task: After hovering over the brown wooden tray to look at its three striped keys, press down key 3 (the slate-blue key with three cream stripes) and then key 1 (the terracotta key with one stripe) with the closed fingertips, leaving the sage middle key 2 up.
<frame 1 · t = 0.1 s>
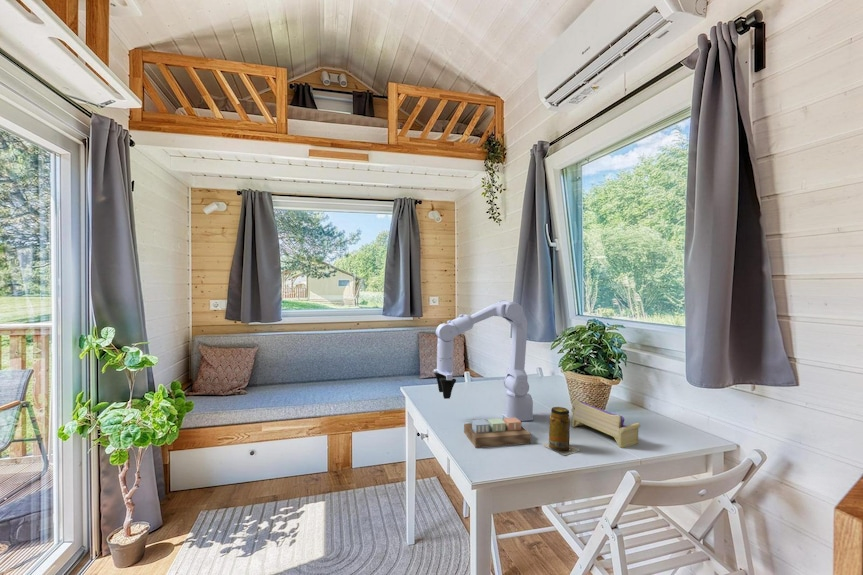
hand: (444, 395, 143), 10 cm above the table, fingers open, 7 cm apart
condiment: (560, 448, 124), on the table
brown wooden tray: (496, 437, 131), on the table
sage key: (496, 426, 131), point 4 cm above the table, slide at 0.0 cm
toy sofa: (603, 435, 135), on the table
slate key: (480, 427, 129), point 4 cm above the table, slide at 0.0 cm
terracotta key: (512, 425, 132), point 4 cm above the table, slide at 0.0 cm
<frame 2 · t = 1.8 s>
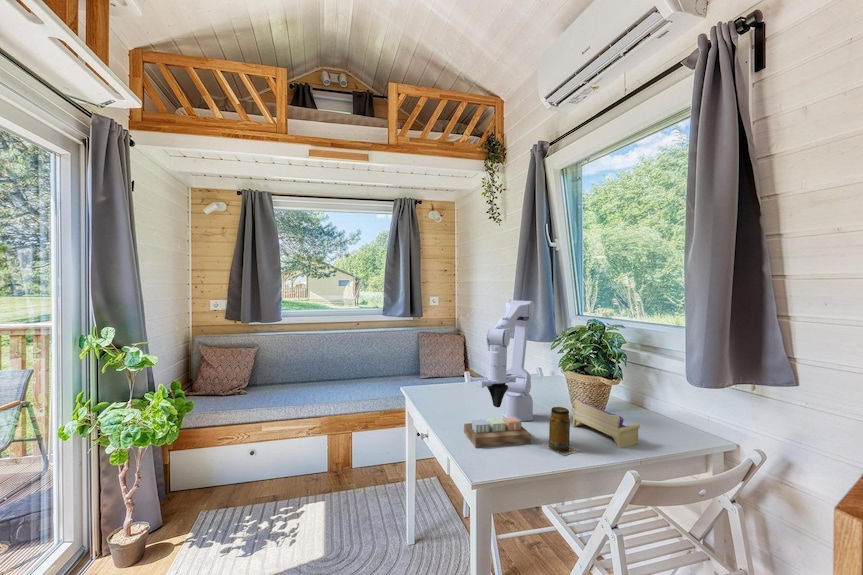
hand: (496, 406, 130), 10 cm above the table, fingers closed
nothing on the table moved.
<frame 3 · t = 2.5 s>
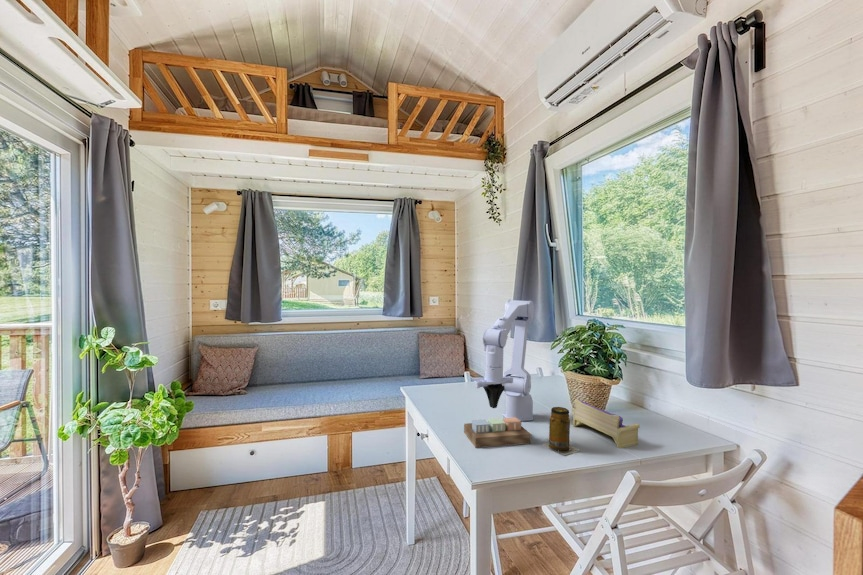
hand: (493, 407, 130), 10 cm above the table, fingers closed
nothing on the table moved.
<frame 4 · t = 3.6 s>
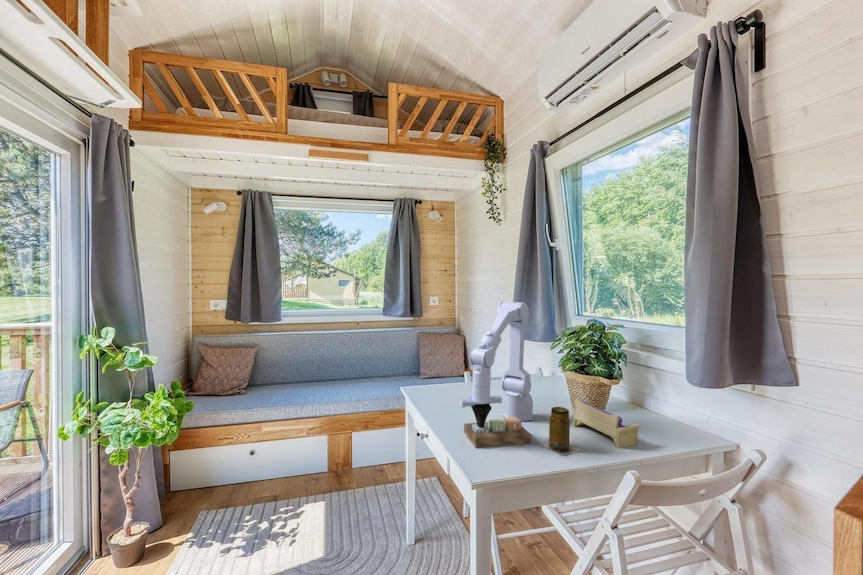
hand: (480, 426, 129), 4 cm above the table, fingers closed, pressing on slate key
slate key: (480, 431, 129), point 2 cm above the table, slide at 1.4 cm, touching gripper
everything else where it was.
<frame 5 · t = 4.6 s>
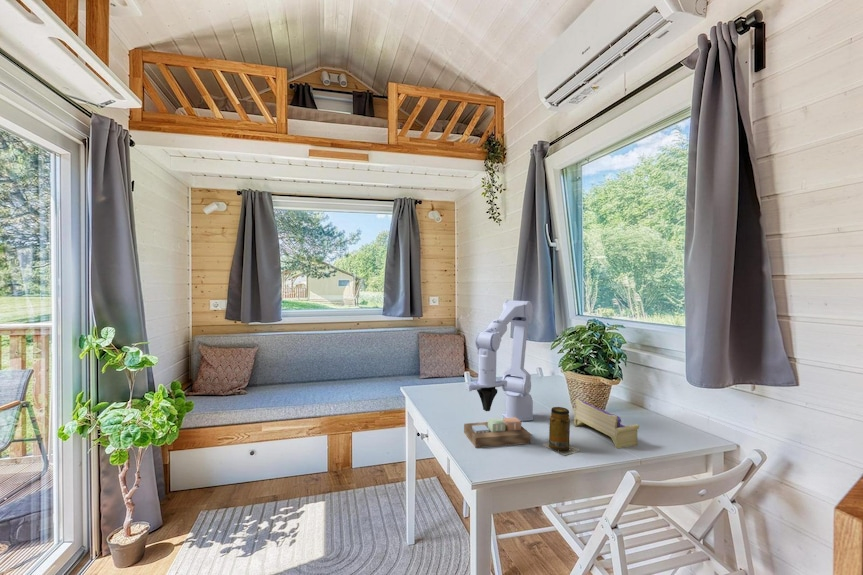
hand: (486, 410, 130), 9 cm above the table, fingers closed
slate key: (480, 432, 130), point 2 cm above the table, slide at 1.8 cm
everything else where it was.
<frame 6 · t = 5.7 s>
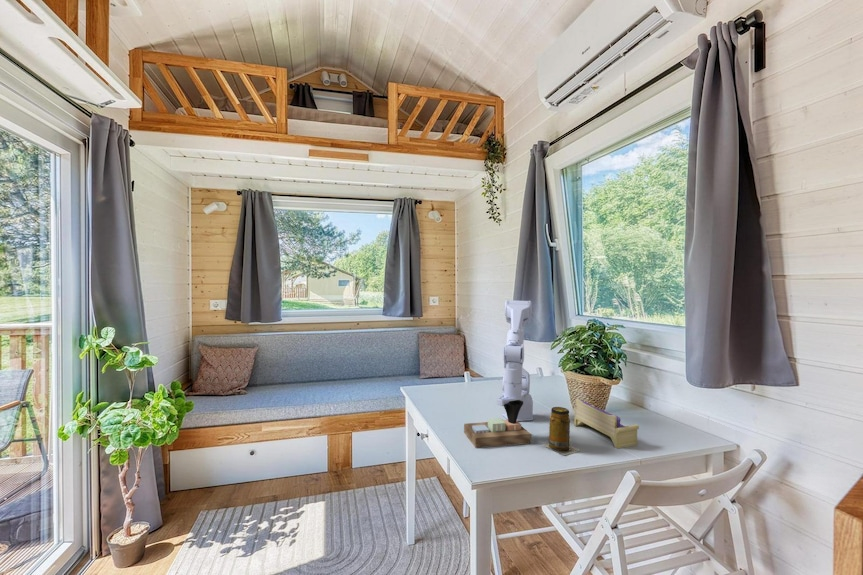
hand: (512, 422, 132), 5 cm above the table, fingers closed, pressing on terracotta key
terracotta key: (512, 427, 132), point 3 cm above the table, slide at 0.8 cm, touching gripper
everything else where it was.
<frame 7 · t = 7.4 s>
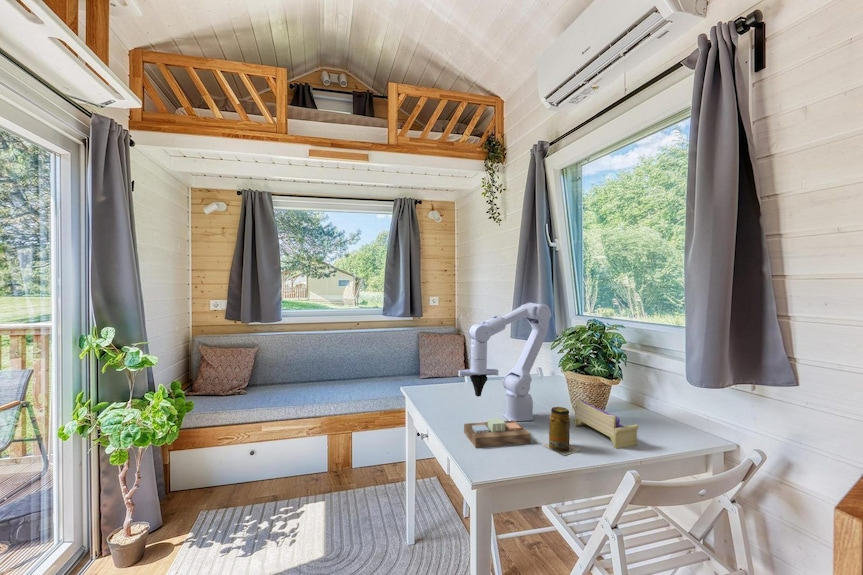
hand: (478, 395, 143), 10 cm above the table, fingers closed
terracotta key: (512, 430, 132), point 2 cm above the table, slide at 1.8 cm
everything else where it was.
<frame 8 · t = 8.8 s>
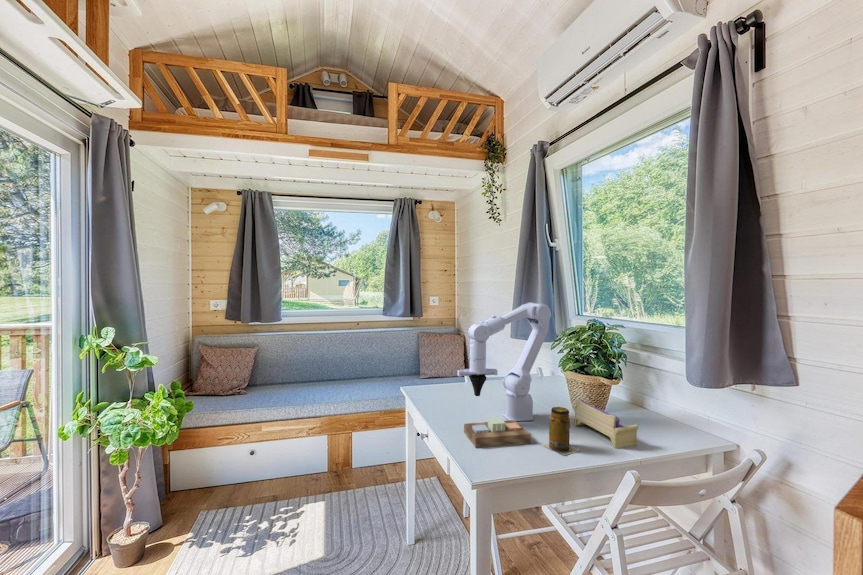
hand: (477, 395, 144), 10 cm above the table, fingers closed
nothing on the table moved.
at the end: slate key slide at 1.8 cm; terracotta key slide at 1.8 cm; sage key slide at 0.0 cm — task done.
